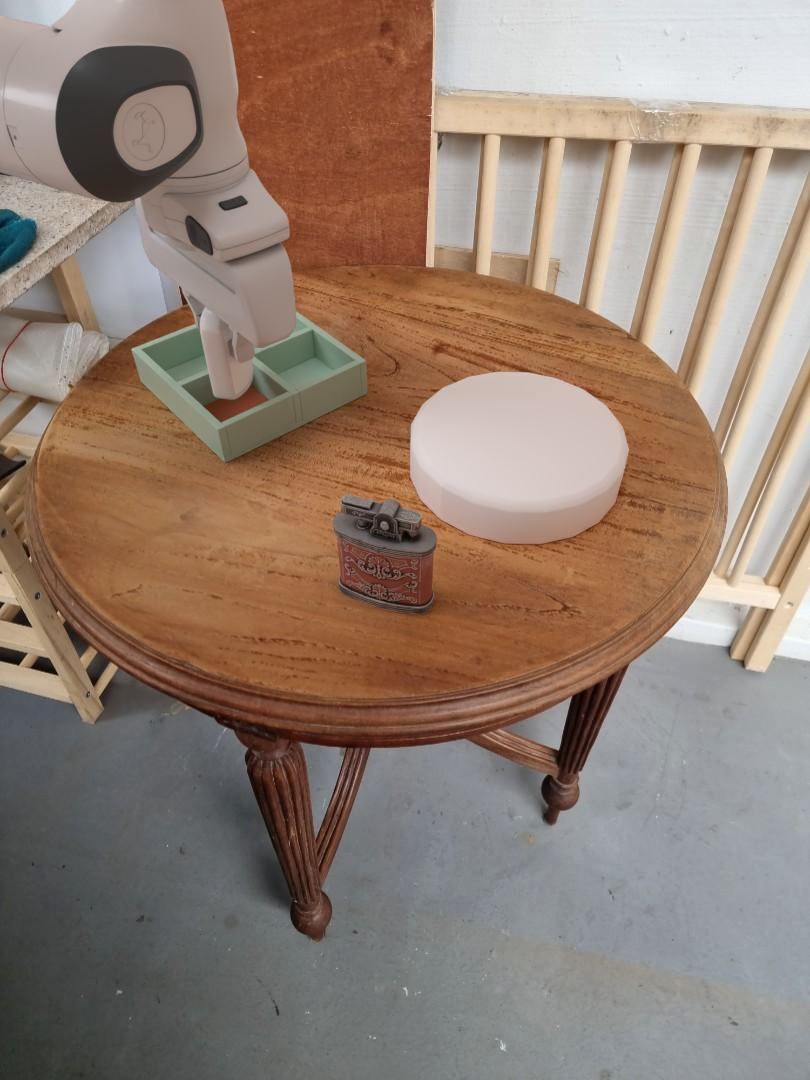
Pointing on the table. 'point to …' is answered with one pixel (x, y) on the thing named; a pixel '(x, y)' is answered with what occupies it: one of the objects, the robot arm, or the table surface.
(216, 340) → the eye dropper bottle
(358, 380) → the grid
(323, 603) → the table surface
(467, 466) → the container
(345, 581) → the lighter
